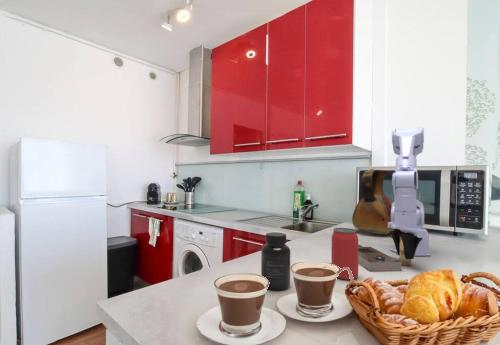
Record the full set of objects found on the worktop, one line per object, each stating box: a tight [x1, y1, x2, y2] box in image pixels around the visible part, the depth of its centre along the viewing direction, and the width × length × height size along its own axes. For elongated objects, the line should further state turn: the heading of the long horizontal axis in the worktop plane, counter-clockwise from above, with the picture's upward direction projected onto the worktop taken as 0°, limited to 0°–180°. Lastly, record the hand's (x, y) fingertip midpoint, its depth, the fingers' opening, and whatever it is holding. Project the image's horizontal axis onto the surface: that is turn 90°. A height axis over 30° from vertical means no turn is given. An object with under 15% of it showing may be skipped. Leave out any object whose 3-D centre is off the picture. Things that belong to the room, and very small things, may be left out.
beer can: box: [331, 227, 359, 281], centre depth 70 cm, size 7×7×12 cm
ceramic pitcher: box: [352, 168, 394, 236], centre depth 125 cm, size 20×20×30 cm
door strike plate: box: [358, 244, 403, 272], centre depth 85 cm, size 24×9×3 cm, turn 4°
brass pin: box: [399, 237, 412, 266], centre depth 79 cm, size 3×3×8 cm
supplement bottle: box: [260, 231, 291, 292], centre depth 63 cm, size 7×7×12 cm
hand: (405, 256), depth 79 cm, fingers closed on brass pin, 3 cm apart
